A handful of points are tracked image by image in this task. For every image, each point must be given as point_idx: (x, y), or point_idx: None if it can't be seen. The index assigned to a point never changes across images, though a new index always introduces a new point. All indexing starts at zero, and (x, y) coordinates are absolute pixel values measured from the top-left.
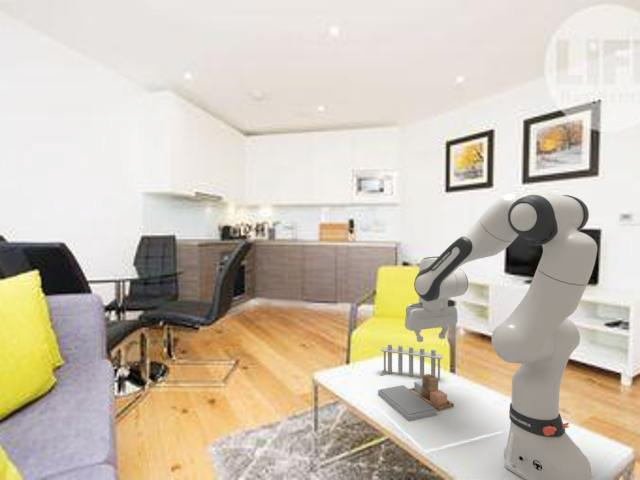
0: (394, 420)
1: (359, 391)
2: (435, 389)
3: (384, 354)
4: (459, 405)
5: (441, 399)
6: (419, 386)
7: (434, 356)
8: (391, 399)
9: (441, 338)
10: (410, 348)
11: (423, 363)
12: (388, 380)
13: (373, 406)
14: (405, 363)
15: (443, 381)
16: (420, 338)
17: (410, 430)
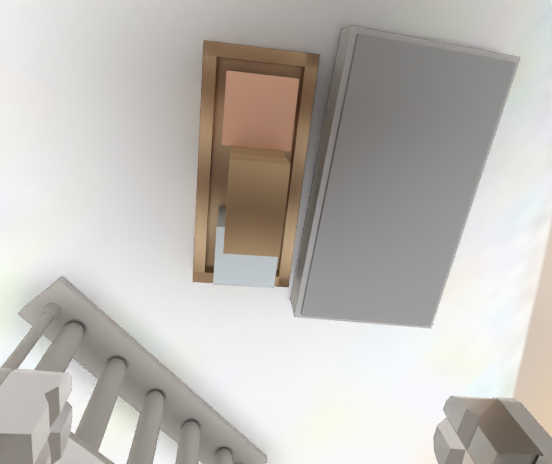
0: (516, 118)
1: (441, 378)
2: (251, 149)
3: None
4: (137, 63)
5: (269, 75)
6: None
7: None
8: (462, 225)
9: (69, 380)
10: None
11: (90, 417)
12: (267, 410)
13: (492, 256)
14: None
15: (23, 304)
16: (538, 438)
17: (532, 8)
